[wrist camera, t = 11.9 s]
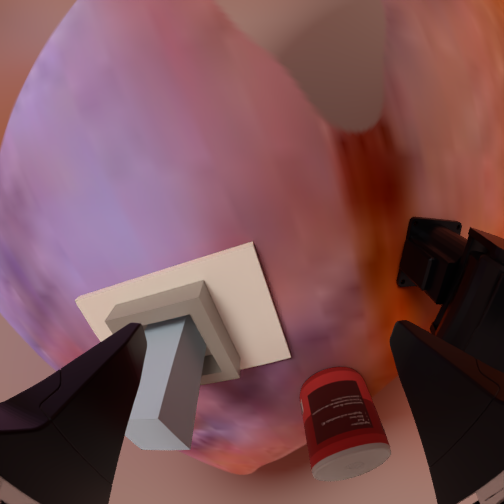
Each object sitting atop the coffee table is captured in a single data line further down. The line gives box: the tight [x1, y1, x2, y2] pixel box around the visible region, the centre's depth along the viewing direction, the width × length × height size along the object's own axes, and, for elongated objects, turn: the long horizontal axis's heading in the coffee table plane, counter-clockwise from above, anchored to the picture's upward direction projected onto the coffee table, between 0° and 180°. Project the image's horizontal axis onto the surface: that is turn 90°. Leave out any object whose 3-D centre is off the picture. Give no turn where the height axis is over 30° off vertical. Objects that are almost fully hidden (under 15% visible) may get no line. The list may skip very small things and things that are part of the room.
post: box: [125, 314, 206, 450], centre depth 19 cm, size 4×4×11 cm
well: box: [75, 242, 291, 385], centre depth 23 cm, size 18×12×3 cm, turn 108°
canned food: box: [300, 367, 391, 481], centre depth 23 cm, size 8×8×11 cm
